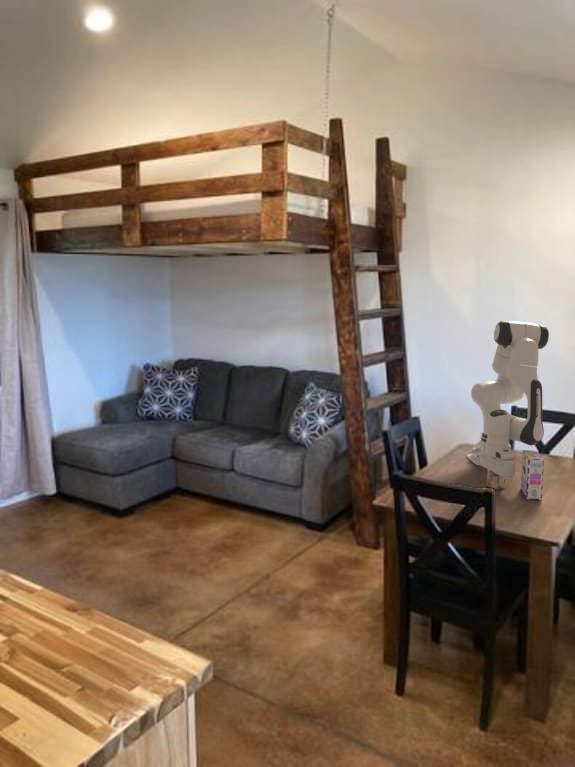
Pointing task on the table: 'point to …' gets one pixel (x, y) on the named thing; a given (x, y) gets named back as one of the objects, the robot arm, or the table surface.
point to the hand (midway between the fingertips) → (496, 482)
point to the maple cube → (494, 481)
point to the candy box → (532, 474)
